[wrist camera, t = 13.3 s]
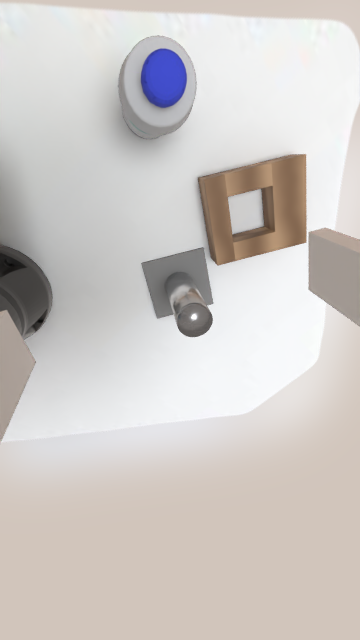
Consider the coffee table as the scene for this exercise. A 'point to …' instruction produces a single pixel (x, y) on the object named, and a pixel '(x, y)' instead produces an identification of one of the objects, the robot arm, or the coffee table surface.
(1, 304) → the robot arm
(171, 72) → the bottle
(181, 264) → the mat
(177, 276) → the shiny metal cylinder
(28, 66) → the coffee table surface
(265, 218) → the housing
